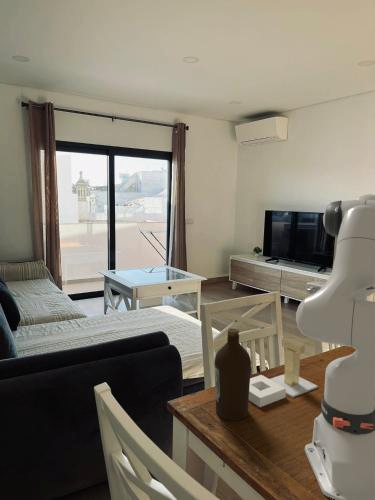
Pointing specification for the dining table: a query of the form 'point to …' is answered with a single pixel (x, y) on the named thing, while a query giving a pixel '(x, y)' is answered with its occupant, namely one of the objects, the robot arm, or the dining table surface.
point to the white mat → (297, 389)
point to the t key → (292, 361)
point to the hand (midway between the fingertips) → (318, 294)
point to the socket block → (265, 391)
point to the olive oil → (232, 378)
